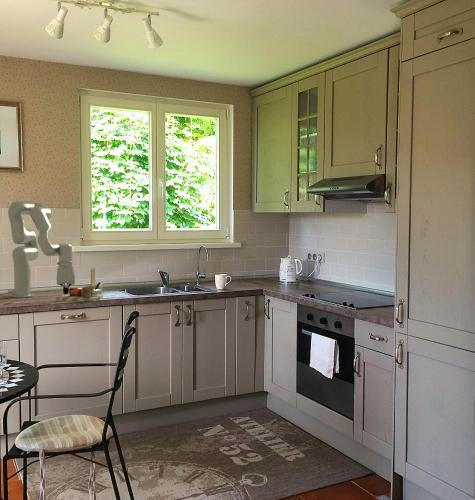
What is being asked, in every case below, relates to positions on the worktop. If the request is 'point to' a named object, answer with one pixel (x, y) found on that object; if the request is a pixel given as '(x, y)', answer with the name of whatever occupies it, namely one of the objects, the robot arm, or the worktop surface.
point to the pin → (78, 292)
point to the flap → (92, 277)
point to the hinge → (98, 286)
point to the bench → (78, 298)
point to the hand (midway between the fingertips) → (66, 294)
